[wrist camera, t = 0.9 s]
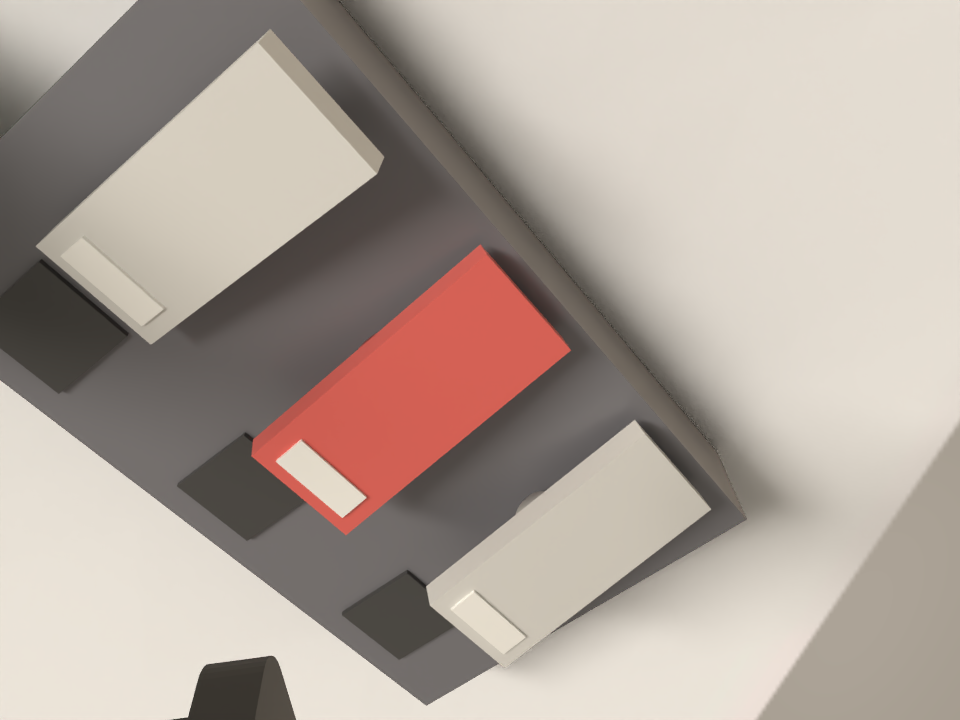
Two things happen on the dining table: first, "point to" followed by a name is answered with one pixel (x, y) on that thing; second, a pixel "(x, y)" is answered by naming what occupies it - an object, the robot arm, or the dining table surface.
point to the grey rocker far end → (567, 546)
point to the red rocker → (410, 392)
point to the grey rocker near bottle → (214, 192)
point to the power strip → (311, 336)
